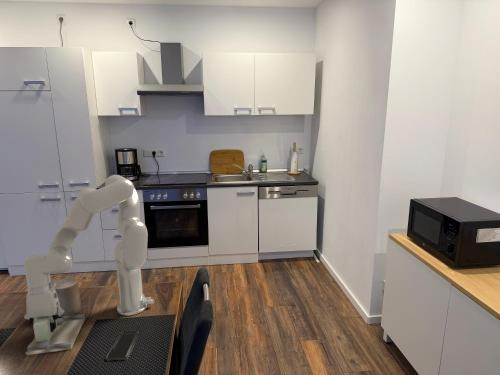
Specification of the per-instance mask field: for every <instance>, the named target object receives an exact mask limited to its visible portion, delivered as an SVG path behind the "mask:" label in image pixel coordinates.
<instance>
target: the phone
mask: <svg viewBox="0 0 500 375" xmlns="http://www.w3.org/2000/svg"><path fill="white" fill-rule="evenodd" d="M139 336H140V332H139V331H124V332H123V331H122V332H119V333H118V334H117V337H116V338H115V340H114V342H113V344H112V345H111V347H110V349H109V351H108V353H107V354H106V356H105V361H106V360H125V361H127V360H128V359H129V358H130V356H129V355H131V354H130V353H132V351H133V350H134V346H135V345H136V343H137V341H138V339H139ZM128 357H129V358H128Z"/></svg>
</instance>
